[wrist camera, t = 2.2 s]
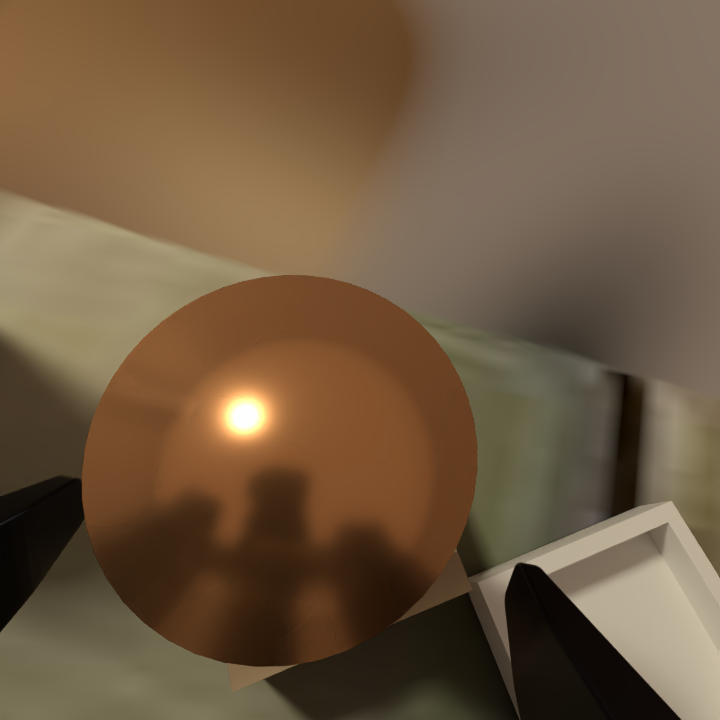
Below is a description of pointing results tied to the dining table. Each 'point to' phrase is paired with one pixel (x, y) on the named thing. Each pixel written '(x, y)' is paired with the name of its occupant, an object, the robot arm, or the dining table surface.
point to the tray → (630, 602)
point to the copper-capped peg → (279, 471)
